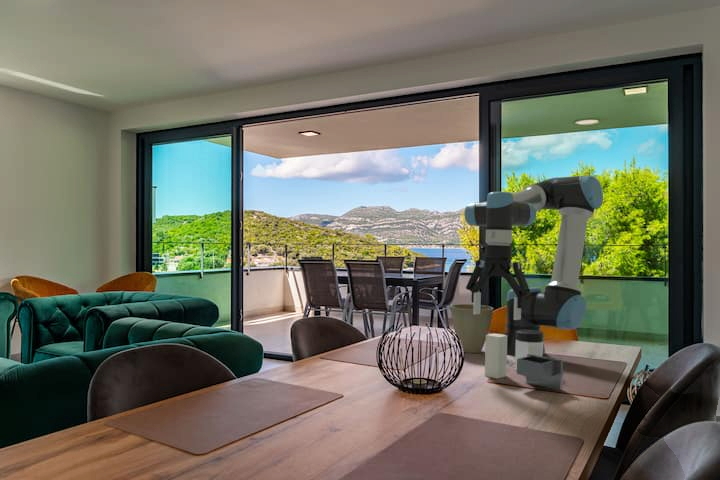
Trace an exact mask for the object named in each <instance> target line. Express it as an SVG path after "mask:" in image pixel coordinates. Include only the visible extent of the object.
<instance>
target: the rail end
mask: <svg viewBox="0 0 720 480" xmlns="http://www.w3.org/2000/svg"><path fill="white" fill-rule="evenodd" d="M484 345H485V349H484V350H485V351H484V354H485V355H484V376H485V377H490V378H494V379H499V380H500V379H501V378H505V377H507V372H508V371H507V370H508V369H507V368H508V366H507V365H508V354H507V335H504V334H499V333H488V335H486V340H485V344H484Z"/></svg>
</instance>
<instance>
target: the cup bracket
mask: <svg viewBox="0 0 720 480" xmlns="http://www.w3.org/2000/svg"><path fill="white" fill-rule="evenodd" d="M563 372H564V360H563V359H560V358H559V359H558V358H552V357H547V356H544V355H543V356H537V355H532V354H527V357H523V358H519V359H517V371H516V374H517V375H520V376H525V377H526V379H525V384H530V385H532V386H533V385H534V386H539V387H543V388H547V389H551V388H552V390H555V389H556V391H560V390H561V391H562V390H563V377H564V375H563V374H564V373H563Z"/></svg>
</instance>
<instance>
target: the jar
mask: <svg viewBox="0 0 720 480" xmlns="http://www.w3.org/2000/svg"><path fill="white" fill-rule="evenodd" d="M544 336H545V335H544V331H541V330H540V331H537V330H525V329H524V330H517V331H516V350H515V355H514V357H515V358H514V359H515V361H514V362H515V363H514V370H515V372H517V359H519V358H523V357H527V354H532V355H537V356H543V357H544V355H543V343H544Z"/></svg>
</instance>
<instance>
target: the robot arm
mask: <svg viewBox="0 0 720 480" xmlns="http://www.w3.org/2000/svg"><path fill="white" fill-rule="evenodd" d="M603 198H604V193H603V188H602V185H601V182H600V181H599V180H598V178H597V177H596V176H593V175H577V176H564V177H552V178H548V179H544V180H542V181H539V182H535V183H532V184H529V185H527V186H525V187H524V189H522V190H518V191H516V192H509V191H492V192H489V193H488V194H487V196H486V200H485V201H483V202H472V203H469V204H467V205H466V206H465V209H464V213H463V215H464V220H465V222H466V224H467V225H469V226H471V227H485V243H486V245H485V246H484V248H485V249H484V250H485V251H484V256H485V260H483V259H476V261H475V266H474V269H473V271H472V273H471V275H470V277H469V279H468V281H467V285H466V286H465V290H467V291H470V292H471V303H472V304H473V314H480V306H481V305H482V304H481V302H482V301H481V300H482V299H481V298H482V292H480V290H481V289H482V288H483V287H484V285H485V284H486V283H487V281H488V280H490V278H491V277H500V278H501V277H503V279H505V280H506V282H507V283H508V285H509V286H510V288H511V289H509V290H508V291H507V295H506V316H505V318H506V323H505V324H506V325H505V326H506V327H505V332H504V334H503V335H507V355H510V356H511V355H512V356H515V350H516V331H517V330H524V329H525V330H537V331H541V326H543V327H549V328H555V329H559V330H575V329H578V327H580V325H582V323H583V321H584V320H585V316H586V313H587V305H586V304H587V302H586V299H585V298H584V296H582V291H581V289H580V288H579V279H580V274H581V273H580V271H581V267H582V266H581V265H582V259H583V253H584V246H585V240H586V234H587V227H588V222H589V220H590V219H591V218H593V216H594V214H595V210H598V209H600V208H601V207H602V206H603V203H604V199H603ZM541 210H551V211H552V210H557V211H558V213H559V215H560V216H561V220H560V226H559V231H558V238H557V243H556V250H555V256H554V260H553V261H554V262H553V268H552V273H551V274H552V275H551V280H550V282H549V283H547V284H546V285H545V286H544V287H545V288H544V291H543V290H542V289H541V287H529V285H528V282H527V280H526V277H525V275H524V273H523V269H522V263H521V261H514V262H512V261H511V260H512V252H513V251H512V245H510V244H512V243H513V227H519V228H520V227H523V228H524V227H529V226H530V225H532V224H533V223H534V222H535V221H536V218H537V211H541ZM484 268H485V270H484V271H483V269H484ZM511 269H512V271H513V272H514V275H513V273H512V272H511ZM482 271H483V272H482ZM481 274H482V275H481ZM480 275H481V276H480ZM514 276H515V277H514ZM515 278H516V279H515ZM545 354H546V348H545V343H544V342H543V356H544V355H545Z"/></svg>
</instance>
